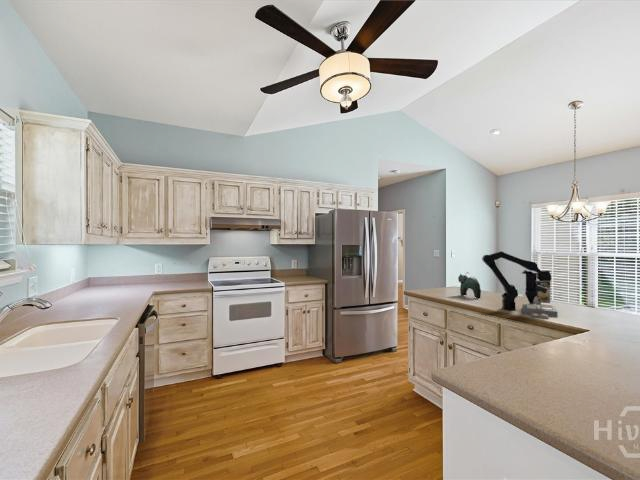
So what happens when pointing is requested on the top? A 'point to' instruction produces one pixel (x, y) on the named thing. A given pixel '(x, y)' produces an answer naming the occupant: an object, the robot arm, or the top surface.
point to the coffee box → (542, 296)
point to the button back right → (546, 305)
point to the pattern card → (539, 315)
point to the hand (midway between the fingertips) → (531, 304)
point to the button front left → (532, 306)
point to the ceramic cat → (469, 285)
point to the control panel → (538, 310)
